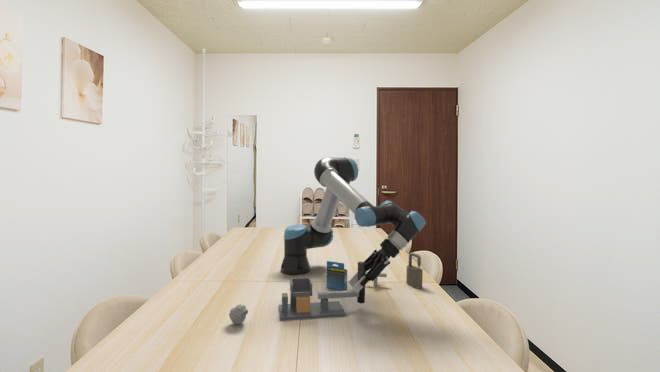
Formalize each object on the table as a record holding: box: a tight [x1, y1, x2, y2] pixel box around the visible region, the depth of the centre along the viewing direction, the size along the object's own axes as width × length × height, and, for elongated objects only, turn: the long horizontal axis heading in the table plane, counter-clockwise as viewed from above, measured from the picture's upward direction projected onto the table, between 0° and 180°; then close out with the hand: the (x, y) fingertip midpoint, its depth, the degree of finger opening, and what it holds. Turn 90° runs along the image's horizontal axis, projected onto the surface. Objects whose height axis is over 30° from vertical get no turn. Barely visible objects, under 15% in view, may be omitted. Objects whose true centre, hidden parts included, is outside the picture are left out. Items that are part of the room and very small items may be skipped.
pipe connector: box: [365, 271, 388, 287], centre depth 165 cm, size 10×10×10 cm
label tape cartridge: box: [326, 260, 348, 291], centre depth 161 cm, size 9×4×12 cm, turn 65°
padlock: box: [405, 252, 424, 289], centre depth 165 cm, size 4×8×15 cm, turn 28°
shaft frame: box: [278, 276, 347, 321], centre depth 135 cm, size 24×12×12 cm, turn 100°
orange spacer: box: [296, 296, 311, 313], centre depth 135 cm, size 5×5×5 cm
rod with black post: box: [317, 261, 366, 304], centre depth 137 cm, size 18×3×16 cm, turn 100°
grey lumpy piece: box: [228, 304, 249, 326], centre depth 124 cm, size 6×7×7 cm
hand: (352, 287), depth 138 cm, fingers open, 6 cm apart
